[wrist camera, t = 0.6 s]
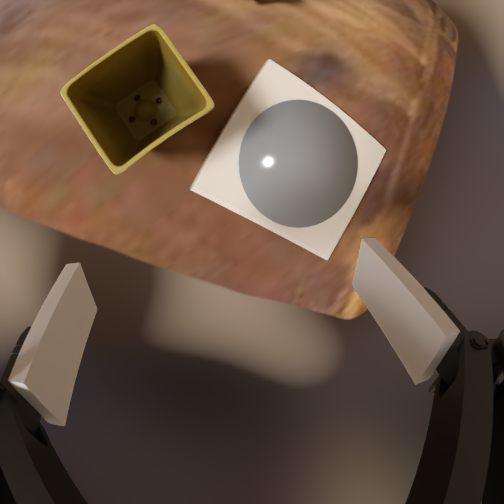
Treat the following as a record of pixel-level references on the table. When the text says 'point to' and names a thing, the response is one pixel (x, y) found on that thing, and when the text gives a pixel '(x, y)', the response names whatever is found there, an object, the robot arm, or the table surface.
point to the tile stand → (290, 162)
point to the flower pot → (127, 88)
